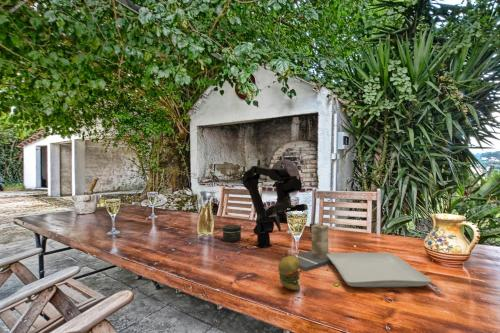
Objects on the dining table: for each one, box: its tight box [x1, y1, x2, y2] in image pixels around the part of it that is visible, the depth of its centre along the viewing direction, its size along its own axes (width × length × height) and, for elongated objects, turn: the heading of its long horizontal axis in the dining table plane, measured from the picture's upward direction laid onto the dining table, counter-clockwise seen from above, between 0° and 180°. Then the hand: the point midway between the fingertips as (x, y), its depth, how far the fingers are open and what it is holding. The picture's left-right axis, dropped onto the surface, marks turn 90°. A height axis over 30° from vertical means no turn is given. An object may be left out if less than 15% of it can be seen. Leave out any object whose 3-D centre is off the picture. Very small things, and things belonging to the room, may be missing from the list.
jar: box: [222, 224, 242, 244], centre depth 149 cm, size 10×10×8 cm
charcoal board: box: [292, 250, 333, 272], centre depth 115 cm, size 13×20×2 cm, turn 124°
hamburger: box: [278, 253, 301, 291], centre depth 90 cm, size 8×7×12 cm
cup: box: [309, 222, 323, 236], centre depth 149 cm, size 8×7×8 cm
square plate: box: [326, 252, 433, 288], centre depth 100 cm, size 27×27×4 cm
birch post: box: [310, 223, 329, 259], centre depth 116 cm, size 5×5×13 cm
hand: (289, 229), depth 122 cm, fingers open, 9 cm apart
